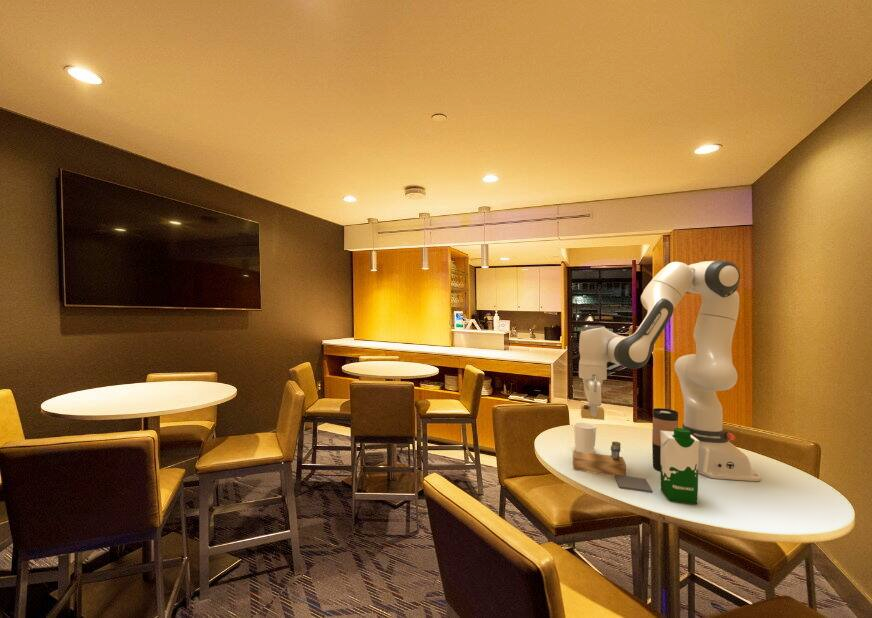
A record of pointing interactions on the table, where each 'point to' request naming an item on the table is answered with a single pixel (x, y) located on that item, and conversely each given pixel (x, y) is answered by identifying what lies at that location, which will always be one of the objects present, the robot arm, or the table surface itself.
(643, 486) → the rubber mat
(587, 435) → the white cup
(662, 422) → the travel mug
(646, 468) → the table surface
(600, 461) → the plane body
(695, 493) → the milk carton
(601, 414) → the gold block with knob
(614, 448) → the lever
